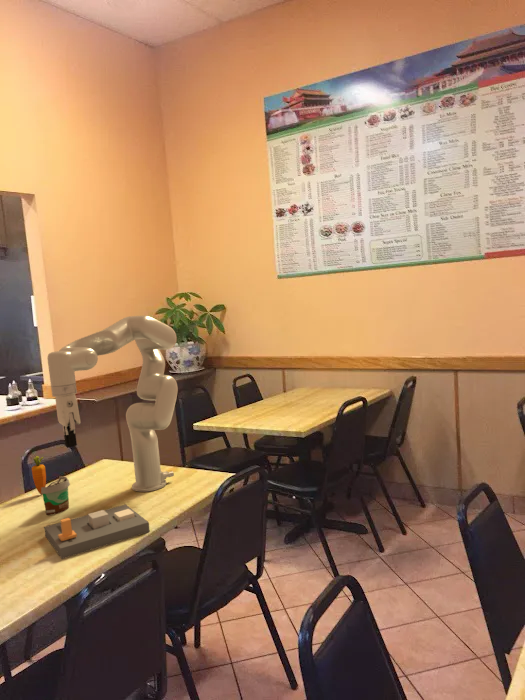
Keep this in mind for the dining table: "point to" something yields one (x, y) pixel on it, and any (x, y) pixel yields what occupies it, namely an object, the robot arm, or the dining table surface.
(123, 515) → the cream button
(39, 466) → the carrot
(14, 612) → the dining table surface
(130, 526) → the switch panel
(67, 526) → the orange slider handle
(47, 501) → the food container
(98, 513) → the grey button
